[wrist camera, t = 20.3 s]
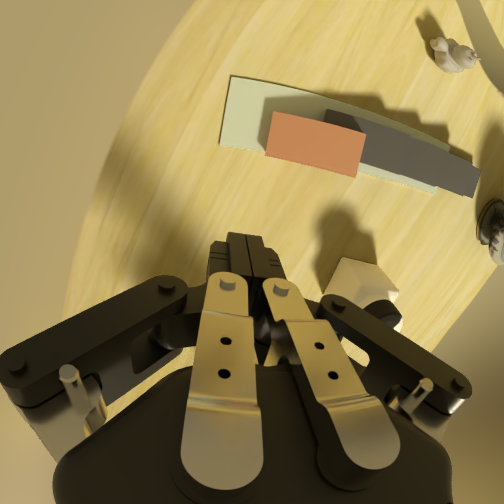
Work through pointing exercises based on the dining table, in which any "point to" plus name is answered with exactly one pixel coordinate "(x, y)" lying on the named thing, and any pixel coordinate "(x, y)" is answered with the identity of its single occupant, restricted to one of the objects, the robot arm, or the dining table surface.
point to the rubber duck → (452, 55)
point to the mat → (304, 105)
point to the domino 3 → (422, 162)
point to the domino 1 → (315, 143)
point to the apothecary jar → (492, 229)
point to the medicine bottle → (367, 290)
